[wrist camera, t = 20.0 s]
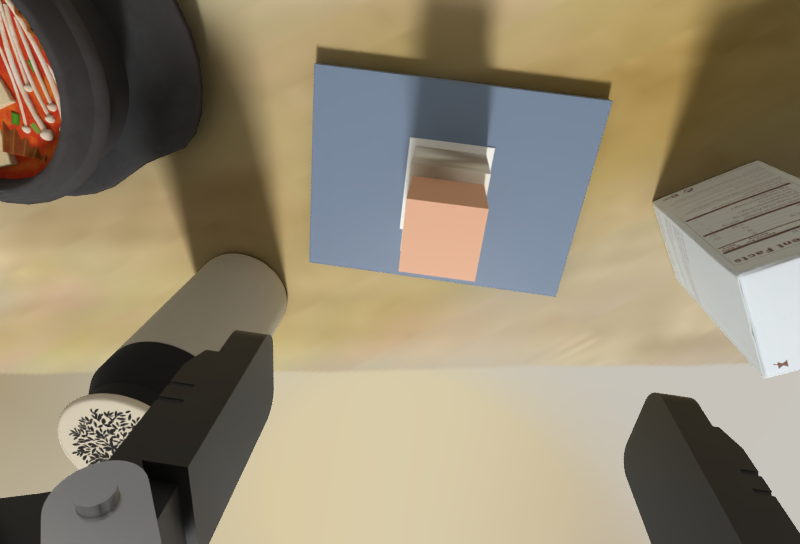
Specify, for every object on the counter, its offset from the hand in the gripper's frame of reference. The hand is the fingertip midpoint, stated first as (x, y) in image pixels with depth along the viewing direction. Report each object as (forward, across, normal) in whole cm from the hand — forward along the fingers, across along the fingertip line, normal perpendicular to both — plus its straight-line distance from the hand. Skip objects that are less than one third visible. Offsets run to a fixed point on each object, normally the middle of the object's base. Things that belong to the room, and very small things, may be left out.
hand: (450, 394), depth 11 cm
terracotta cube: (+22, 0, +4) cm, 22 cm away
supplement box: (+28, -20, +4) cm, 35 cm away
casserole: (+28, +30, -1) cm, 41 cm away
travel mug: (+28, +16, +16) cm, 36 cm away
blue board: (+28, 0, +4) cm, 28 cm away
